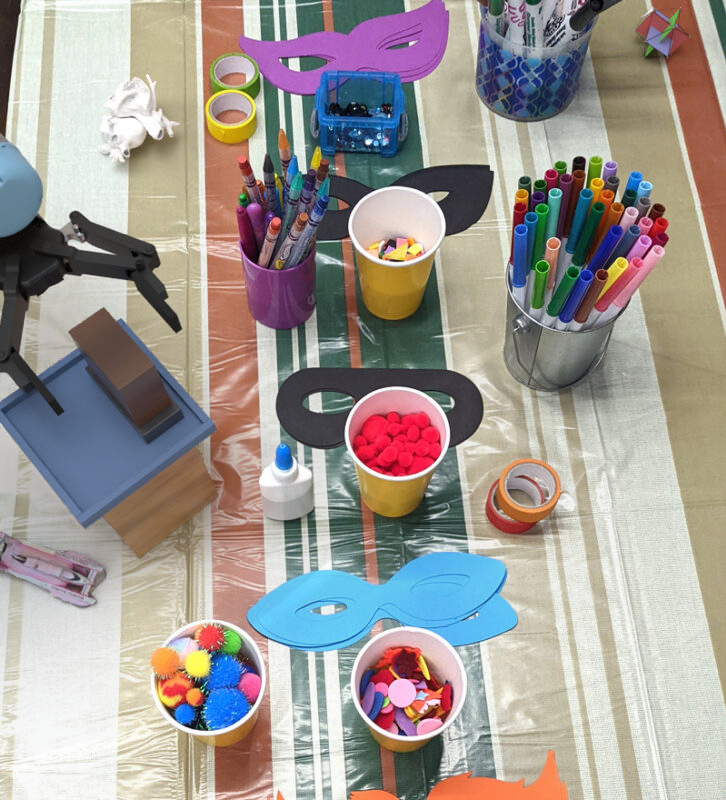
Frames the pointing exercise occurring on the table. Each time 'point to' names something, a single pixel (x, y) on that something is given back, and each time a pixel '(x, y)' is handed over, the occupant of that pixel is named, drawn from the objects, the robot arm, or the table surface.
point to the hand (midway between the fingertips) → (118, 365)
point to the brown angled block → (125, 375)
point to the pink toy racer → (52, 569)
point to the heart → (132, 119)
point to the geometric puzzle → (661, 32)
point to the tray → (96, 436)
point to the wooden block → (163, 503)
